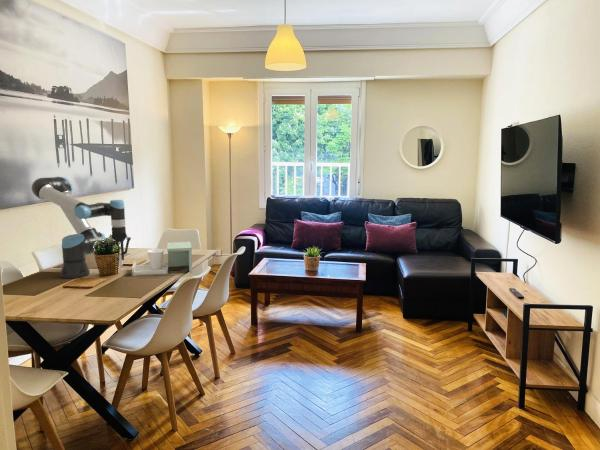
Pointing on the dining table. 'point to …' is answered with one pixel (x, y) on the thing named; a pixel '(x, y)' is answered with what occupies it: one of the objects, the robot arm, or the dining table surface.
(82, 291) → the dining table surface
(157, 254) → the cup
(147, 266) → the tray
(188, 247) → the pale green block
